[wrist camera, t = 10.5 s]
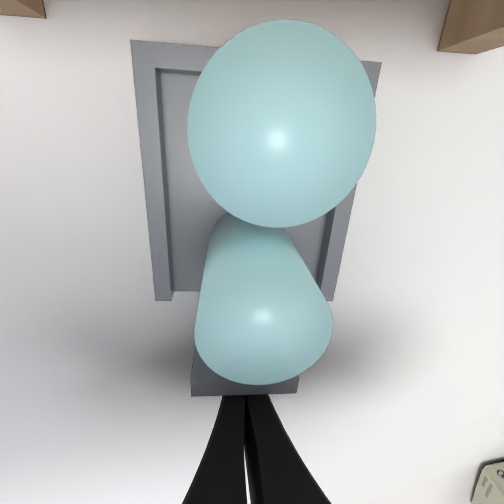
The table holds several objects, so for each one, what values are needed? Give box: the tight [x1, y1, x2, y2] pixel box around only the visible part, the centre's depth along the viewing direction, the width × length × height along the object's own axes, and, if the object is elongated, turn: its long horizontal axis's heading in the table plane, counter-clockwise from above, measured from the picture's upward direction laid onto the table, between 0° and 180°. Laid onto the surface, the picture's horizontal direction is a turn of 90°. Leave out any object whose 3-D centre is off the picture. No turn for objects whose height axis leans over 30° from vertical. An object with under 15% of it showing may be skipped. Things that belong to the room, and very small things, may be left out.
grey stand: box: [130, 19, 382, 397], centre depth 7 cm, size 10×6×5 cm, turn 177°
